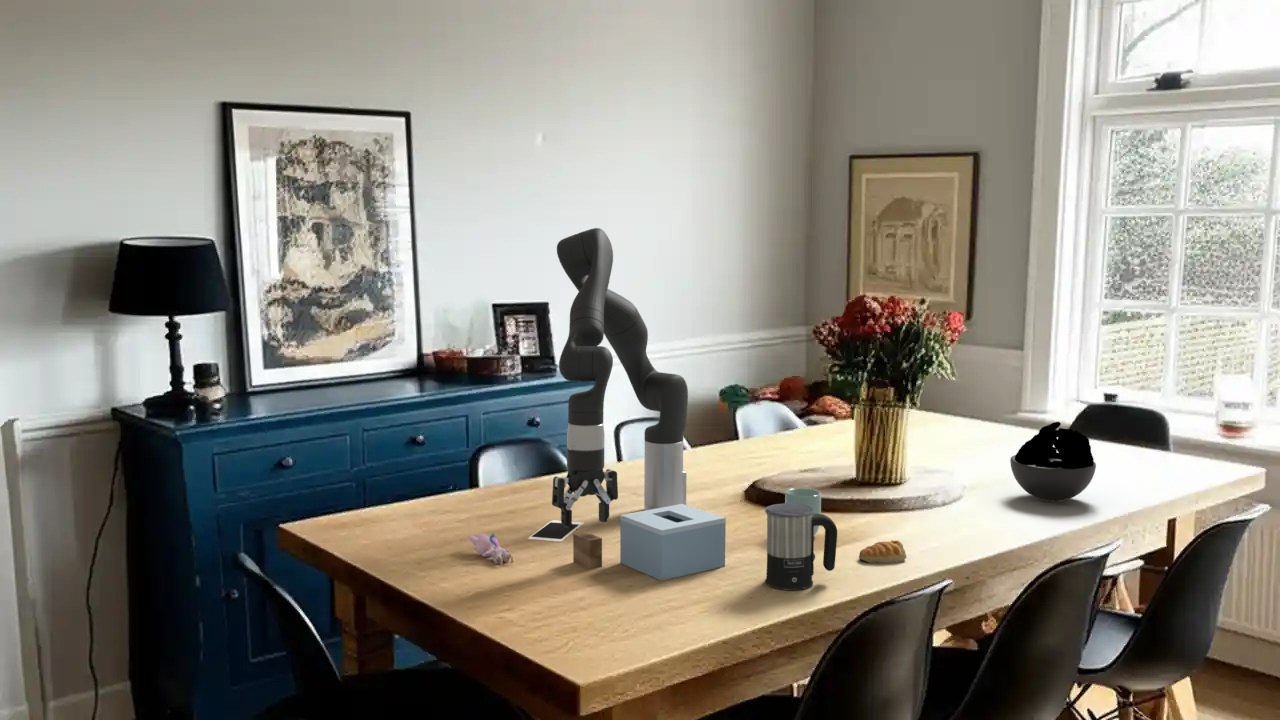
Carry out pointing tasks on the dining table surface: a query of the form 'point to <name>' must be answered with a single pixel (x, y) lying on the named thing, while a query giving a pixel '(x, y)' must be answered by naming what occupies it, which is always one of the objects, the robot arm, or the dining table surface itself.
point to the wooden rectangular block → (587, 550)
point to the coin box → (672, 541)
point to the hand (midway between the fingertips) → (585, 524)
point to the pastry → (884, 552)
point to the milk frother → (796, 545)
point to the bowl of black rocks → (1054, 464)
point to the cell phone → (554, 531)
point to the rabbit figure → (490, 548)
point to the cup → (805, 500)
